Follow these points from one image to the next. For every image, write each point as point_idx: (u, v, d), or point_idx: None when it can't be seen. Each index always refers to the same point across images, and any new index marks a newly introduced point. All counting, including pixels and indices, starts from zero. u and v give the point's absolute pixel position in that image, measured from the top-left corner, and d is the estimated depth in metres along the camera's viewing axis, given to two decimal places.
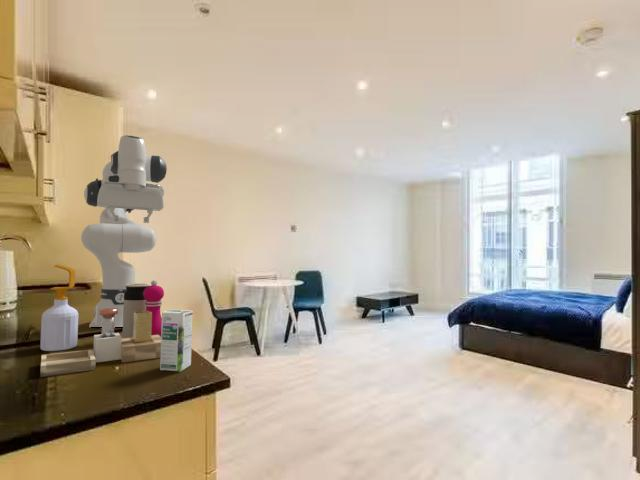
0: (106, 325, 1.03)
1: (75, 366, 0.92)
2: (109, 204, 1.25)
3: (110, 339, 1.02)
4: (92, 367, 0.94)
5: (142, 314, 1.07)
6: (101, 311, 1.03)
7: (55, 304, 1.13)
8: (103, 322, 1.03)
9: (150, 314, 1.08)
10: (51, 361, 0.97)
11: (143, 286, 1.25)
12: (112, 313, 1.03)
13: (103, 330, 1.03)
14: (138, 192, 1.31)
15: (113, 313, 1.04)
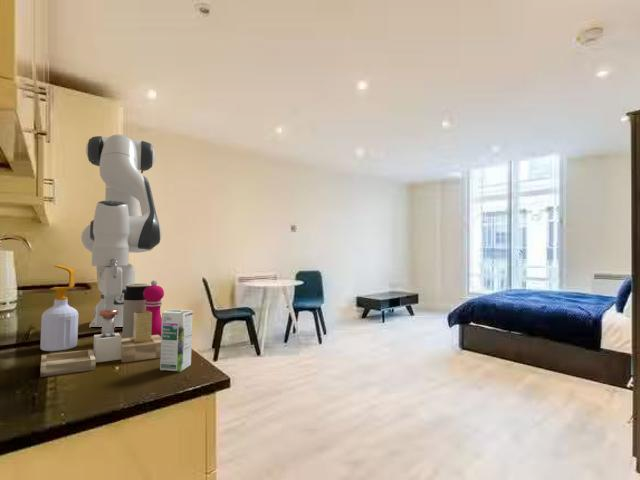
0: (106, 326, 1.03)
1: (75, 366, 0.92)
2: (99, 289, 1.09)
3: (110, 339, 1.02)
4: (92, 367, 0.94)
5: (142, 314, 1.07)
6: (101, 312, 1.03)
7: (55, 304, 1.13)
8: (103, 323, 1.03)
9: (150, 314, 1.08)
10: (51, 361, 0.97)
11: (143, 286, 1.25)
12: (112, 314, 1.03)
13: (103, 331, 1.03)
14: (104, 273, 1.03)
15: (113, 314, 1.04)
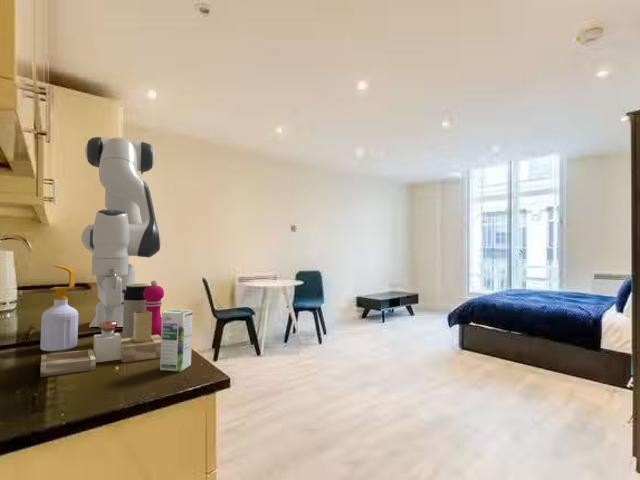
0: None
1: (75, 366, 0.92)
2: (99, 297, 1.10)
3: (110, 339, 1.02)
4: (92, 367, 0.94)
5: (142, 314, 1.07)
6: (101, 324, 1.03)
7: (55, 304, 1.13)
8: (103, 335, 1.03)
9: (150, 314, 1.08)
10: (51, 361, 0.97)
11: (143, 286, 1.25)
12: (112, 326, 1.03)
13: None
14: (103, 283, 1.03)
15: (113, 326, 1.04)
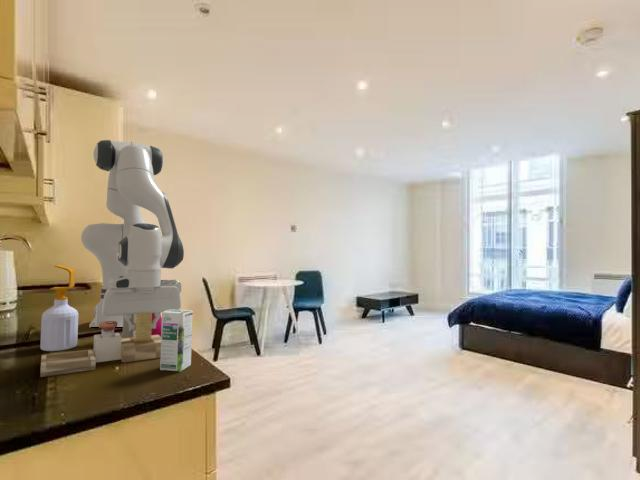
0: None
1: (75, 366, 0.92)
2: (116, 314, 1.03)
3: (110, 339, 1.02)
4: (92, 367, 0.94)
5: (142, 314, 1.07)
6: (101, 324, 1.03)
7: (55, 304, 1.13)
8: (103, 335, 1.03)
9: (150, 314, 1.08)
10: (51, 361, 0.97)
11: None
12: (112, 326, 1.03)
13: None
14: (151, 294, 1.09)
15: (113, 326, 1.04)
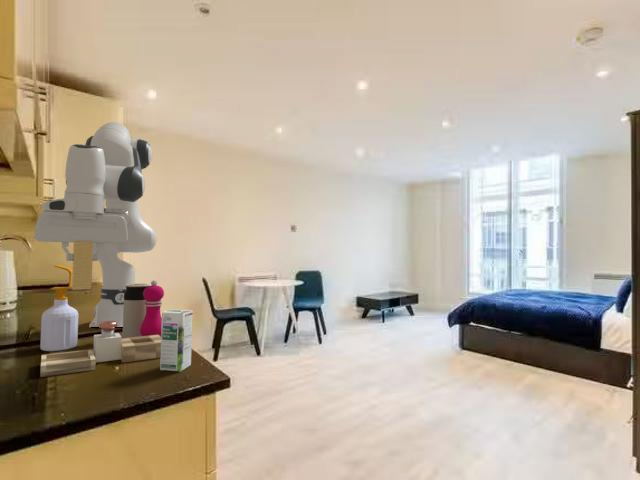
0: None
1: (75, 366, 0.92)
2: (50, 239, 0.93)
3: (110, 339, 1.02)
4: (92, 367, 0.94)
5: (81, 242, 0.96)
6: (101, 324, 1.03)
7: (55, 304, 1.13)
8: (103, 335, 1.03)
9: (91, 243, 0.98)
10: (51, 361, 0.97)
11: (143, 286, 1.25)
12: (112, 326, 1.03)
13: None
14: (92, 221, 0.98)
15: (113, 326, 1.04)
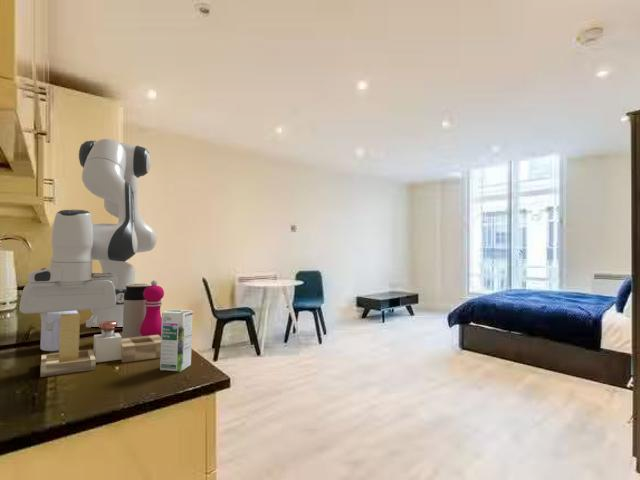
0: None
1: (75, 366, 0.92)
2: (35, 311, 0.91)
3: (110, 339, 1.02)
4: (92, 367, 0.94)
5: (68, 317, 0.94)
6: (101, 324, 1.03)
7: None
8: (103, 335, 1.03)
9: (78, 317, 0.96)
10: (51, 361, 0.97)
11: (143, 286, 1.25)
12: (112, 326, 1.03)
13: None
14: (80, 289, 0.96)
15: (113, 326, 1.04)
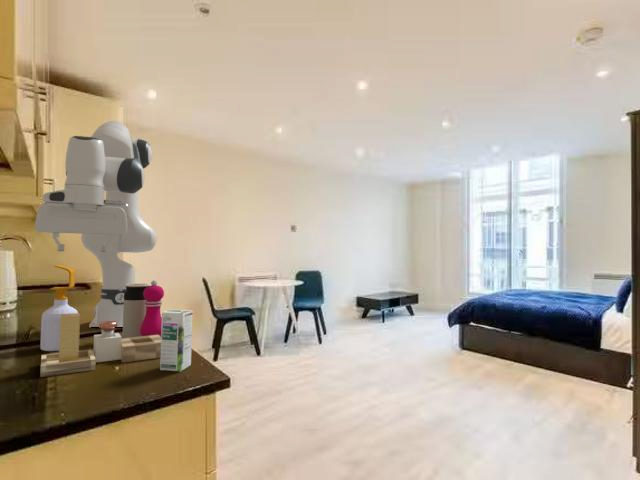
0: None
1: (75, 366, 0.92)
2: (50, 230, 0.94)
3: (110, 339, 1.02)
4: (92, 367, 0.94)
5: (68, 317, 0.94)
6: (101, 324, 1.03)
7: (55, 304, 1.13)
8: (103, 335, 1.03)
9: (78, 317, 0.96)
10: (51, 361, 0.97)
11: (143, 286, 1.25)
12: (112, 326, 1.03)
13: None
14: (92, 213, 0.99)
15: (113, 326, 1.04)
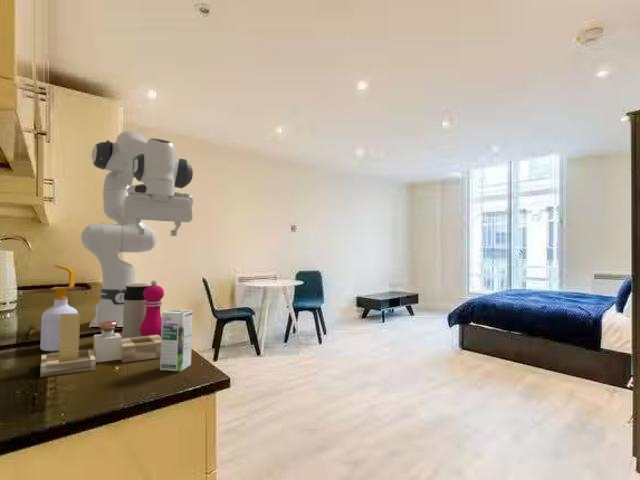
0: None
1: (75, 366, 0.92)
2: (134, 216, 1.14)
3: (110, 339, 1.02)
4: (92, 367, 0.94)
5: (68, 317, 0.94)
6: (101, 324, 1.03)
7: (55, 304, 1.13)
8: (103, 335, 1.03)
9: (78, 317, 0.96)
10: (51, 361, 0.97)
11: (143, 286, 1.25)
12: (112, 326, 1.03)
13: None
14: (166, 203, 1.19)
15: (113, 326, 1.04)
